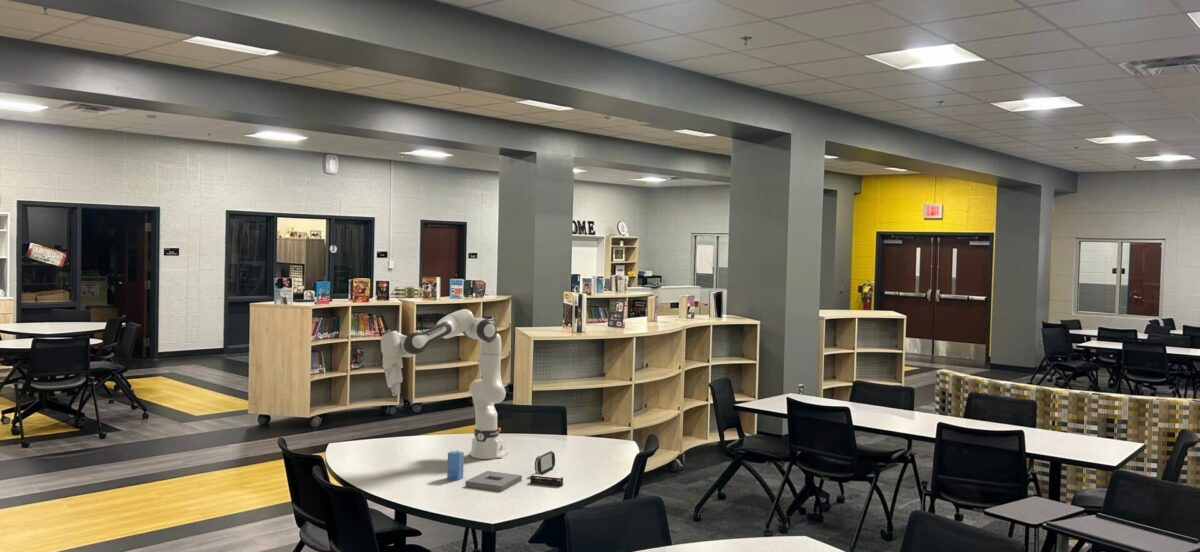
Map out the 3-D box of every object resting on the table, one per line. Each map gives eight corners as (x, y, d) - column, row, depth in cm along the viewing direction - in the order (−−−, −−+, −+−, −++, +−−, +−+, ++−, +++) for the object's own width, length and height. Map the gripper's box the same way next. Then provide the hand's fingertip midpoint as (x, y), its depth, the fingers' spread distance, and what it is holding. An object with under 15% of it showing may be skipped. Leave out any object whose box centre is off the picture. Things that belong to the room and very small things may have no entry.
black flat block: (529, 479, 384) (530, 470, 384) (581, 485, 378) (581, 476, 377) (518, 487, 370) (518, 478, 370) (571, 493, 364) (572, 484, 364)
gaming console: (534, 476, 388) (538, 476, 387) (533, 457, 388) (537, 457, 388) (552, 467, 406) (556, 468, 405) (550, 449, 406) (555, 449, 405)
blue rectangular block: (455, 475, 387) (455, 447, 386) (466, 476, 385) (467, 448, 384) (443, 480, 377) (444, 451, 377) (455, 481, 375) (456, 452, 375)
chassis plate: (486, 476, 386) (486, 470, 386) (521, 480, 380) (521, 475, 380) (465, 486, 368) (465, 481, 368) (501, 491, 361) (501, 486, 361)
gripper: (403, 361, 381) (407, 391, 378) (395, 367, 399) (399, 396, 397) (389, 362, 378) (393, 393, 376) (382, 369, 396) (386, 397, 394)
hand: (396, 394), depth 386 cm, fingers open, 8 cm apart
